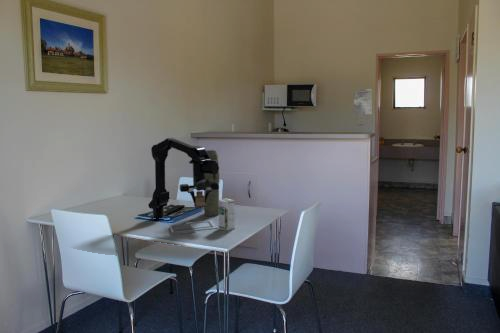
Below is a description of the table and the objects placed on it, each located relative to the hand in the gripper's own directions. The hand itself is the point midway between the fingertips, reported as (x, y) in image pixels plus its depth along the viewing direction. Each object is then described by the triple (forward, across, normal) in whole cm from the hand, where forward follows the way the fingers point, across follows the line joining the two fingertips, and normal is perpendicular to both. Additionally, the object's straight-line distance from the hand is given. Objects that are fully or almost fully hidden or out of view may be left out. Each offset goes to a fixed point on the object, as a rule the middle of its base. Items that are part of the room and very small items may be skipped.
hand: (199, 204), depth 219 cm
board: (+11, 0, 0) cm, 11 cm away
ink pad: (+11, -10, -4) cm, 15 cm away
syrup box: (+12, +12, -9) cm, 18 cm away
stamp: (+1, 0, 0) cm, 1 cm away
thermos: (+11, +10, +21) cm, 26 cm away
